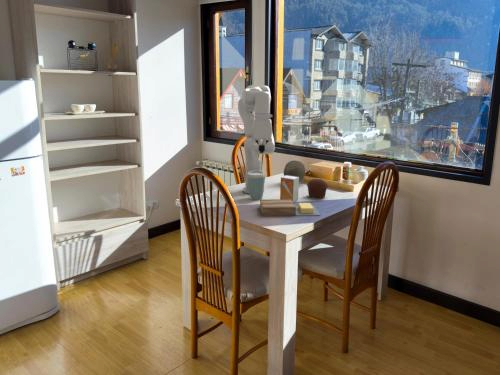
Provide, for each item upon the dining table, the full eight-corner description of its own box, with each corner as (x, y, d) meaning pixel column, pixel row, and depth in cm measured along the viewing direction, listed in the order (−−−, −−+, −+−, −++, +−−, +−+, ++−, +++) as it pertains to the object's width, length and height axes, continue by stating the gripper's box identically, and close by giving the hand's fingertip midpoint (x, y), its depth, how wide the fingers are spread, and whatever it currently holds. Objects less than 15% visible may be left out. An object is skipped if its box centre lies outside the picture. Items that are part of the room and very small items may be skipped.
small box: (279, 200, 226) (280, 177, 223) (285, 197, 231) (286, 175, 228) (292, 202, 222) (293, 179, 218) (298, 200, 227) (299, 176, 223)
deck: (260, 207, 213) (260, 199, 213) (290, 206, 215) (291, 199, 214) (262, 215, 200) (262, 207, 199) (295, 215, 201) (295, 207, 200)
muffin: (303, 197, 232) (304, 180, 230) (310, 193, 242) (311, 176, 239) (323, 200, 227) (324, 182, 224) (330, 195, 236) (331, 178, 234)
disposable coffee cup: (263, 201, 223) (264, 174, 219) (244, 200, 225) (244, 173, 221) (266, 196, 233) (267, 170, 229) (248, 195, 235) (248, 169, 231)
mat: (290, 206, 216) (290, 205, 215) (313, 205, 216) (313, 205, 216) (296, 215, 200) (296, 215, 200) (320, 215, 201) (320, 214, 201)
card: (310, 203, 211) (310, 207, 212) (298, 203, 211) (298, 207, 212) (313, 208, 203) (313, 213, 203) (301, 208, 202) (301, 213, 203)
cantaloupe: (278, 183, 264) (279, 159, 261) (296, 180, 271) (297, 158, 267) (290, 188, 252) (291, 163, 249) (309, 185, 259) (310, 161, 255)
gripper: (276, 116, 213) (275, 151, 218) (247, 116, 212) (246, 151, 217) (278, 117, 206) (277, 154, 211) (247, 117, 205) (247, 154, 209)
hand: (261, 152), depth 214 cm, fingers closed
